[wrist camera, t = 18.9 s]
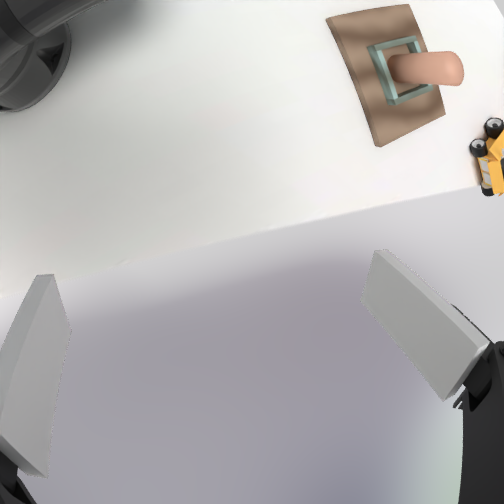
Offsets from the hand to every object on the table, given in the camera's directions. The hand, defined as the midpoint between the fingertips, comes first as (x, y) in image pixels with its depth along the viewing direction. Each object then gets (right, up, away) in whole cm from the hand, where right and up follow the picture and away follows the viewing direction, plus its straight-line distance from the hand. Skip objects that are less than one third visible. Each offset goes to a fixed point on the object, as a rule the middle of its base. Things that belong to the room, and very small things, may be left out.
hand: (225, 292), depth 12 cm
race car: (+56, +25, +42) cm, 75 cm away
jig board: (+24, +32, +28) cm, 49 cm away
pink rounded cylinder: (+24, +31, +27) cm, 48 cm away
